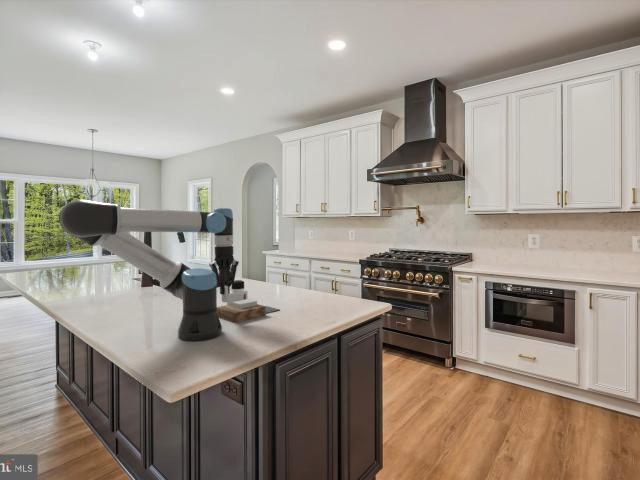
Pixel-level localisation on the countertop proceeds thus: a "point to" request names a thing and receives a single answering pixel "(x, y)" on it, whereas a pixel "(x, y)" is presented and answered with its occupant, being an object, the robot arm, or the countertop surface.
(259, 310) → the brown wooden flat block
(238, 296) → the container
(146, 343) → the countertop surface
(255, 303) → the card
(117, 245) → the robot arm
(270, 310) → the mat
